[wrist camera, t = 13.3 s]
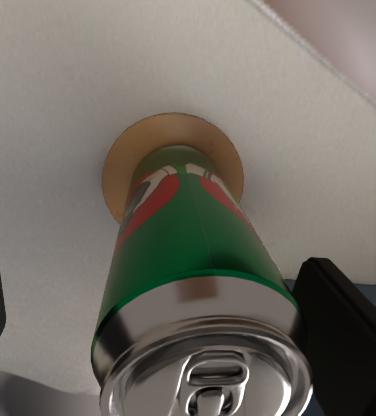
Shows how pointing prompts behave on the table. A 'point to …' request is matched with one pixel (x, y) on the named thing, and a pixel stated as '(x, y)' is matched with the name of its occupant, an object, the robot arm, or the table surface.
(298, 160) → the table surface
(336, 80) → the table surface
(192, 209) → the soda can
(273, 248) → the table surface
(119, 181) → the coaster
